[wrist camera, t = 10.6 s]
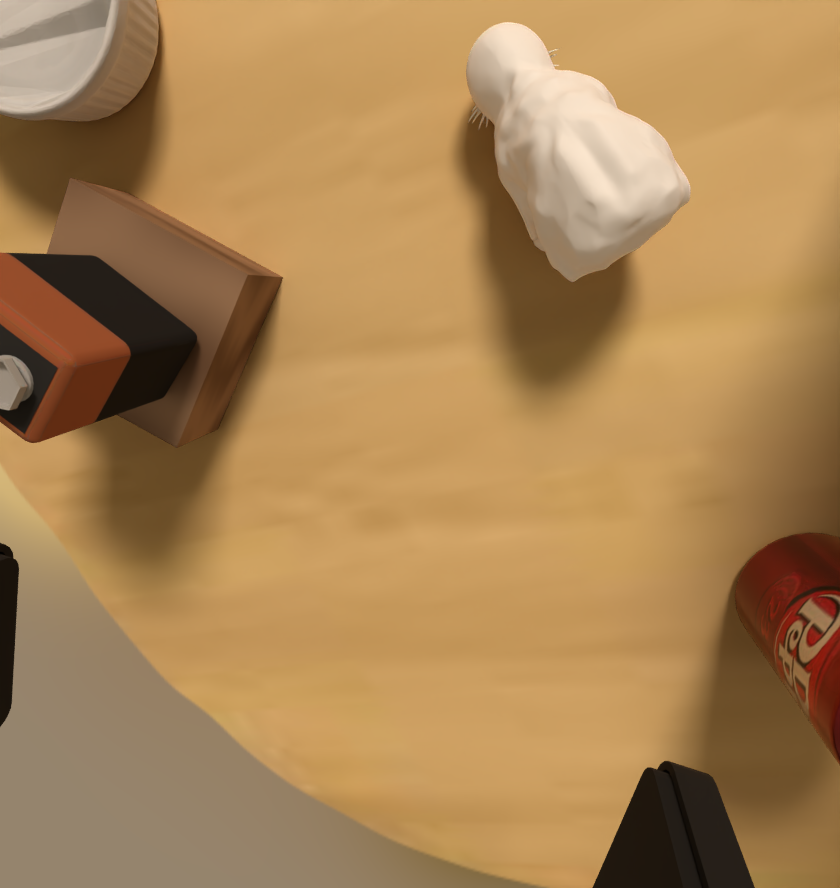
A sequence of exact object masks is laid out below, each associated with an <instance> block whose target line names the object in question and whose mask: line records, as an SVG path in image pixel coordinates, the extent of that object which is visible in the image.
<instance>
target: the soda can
mask: <svg viewBox="0 0 840 888" xmlns="http://www.w3.org/2000/svg"><path fill="white" fill-rule="evenodd" d="M735 601H736V609H737V612H738V615H739V618H740V620H741V622H742V624H743V625H744V627H745V629H746V630H747V632H748V633H749V635H750V636H751V637H752V639H753V640H754V642H755V643H756V645H757V646H758V648H759V649H760V650H761V652H762V653H763V655H764V656H765V658H766V659H767V661H768V662H769V664H770V665H771V666H772V668H773V669H774V671H775V672H776V674H777V675H778V677H779V678H780V679H781V681H782V682H783V684H784V685H785V687H786V688H787V690H788V691H789V693H790V694H791V695H792V697H793V698H794V700H795V701H796V703H797V704H798V706H799V707H800V708H801V710H802V711H803V713H804V714H805V716H806V717H807V719H808V720H809V722H810V723H811V724H812V726H813V727H814V729H815V730H816V732H817V733H818V735H819V736H820V737H821V739H822V740H823V742H824V743H825V745H826V746H827V748H828V749H829V751H830V752H831V753H832V755H833V756H834V758H835V759H836V761H837V762H838V764H839V765H840V538H839V537H836V536H831V535H827V534H820V533H804V534H795V535H791V536H788V537H784V538H781V539H778V540H776V541H774V542H772V543H770V544H768V545H767V546H765V547H764V548H762V549H761V550H760V551H758V552H757V553H756V554H755V555H754V556H753V557H752V558H751V559H750V560H749V561H748V562H747V564H746V566H745V567H744V569H743V570H742V572H741V574H740V577H739V579H738V582H737V586H736V593H735Z"/></svg>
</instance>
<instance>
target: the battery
mask: <svg viewBox="0 0 840 888" xmlns="http://www.w3.org/2000/svg"><path fill="white" fill-rule="evenodd" d="M196 342H197V335H196V333H195V332H194V331H193V330H192V329H191V328H189V327H188V326H187V325H186V324H184V323H183V322H182V321H180V320H179V319H178V318H177V317H175V316H174V315H173V314H171V313H170V312H169V311H168V310H166V309H165V308H164V307H162V306H161V305H160V304H158V303H157V302H156V301H155V300H153V299H152V298H151V297H149V296H148V295H147V294H146V293H144V292H143V291H142V290H140V289H139V288H138V287H136V286H135V285H134V284H133V283H131V282H130V281H129V280H127V279H126V278H125V277H124V276H122V275H121V274H120V273H118V272H117V271H116V270H114V269H113V268H112V267H111V266H109V265H108V264H107V263H105V262H104V261H103V260H101V259H100V258H98V257H96V256H93V255H66V254H27V253H0V422H1V423H2V424H4V425H5V426H6V427H8V428H9V429H10V430H12V431H13V432H14V433H16V434H17V435H18V436H20V437H21V438H22V439H24V440H25V441H27V442H30V443H37V442H41V441H44V440H46V439H49V438H52V437H55V436H58V435H61V434H63V433H66V432H69V431H72V430H75V429H77V428H80V427H83V426H86V425H89V424H91V423H94V422H97V421H100V420H103V419H106V418H108V417H111V416H114V415H117V414H120V413H122V412H125V411H128V410H131V409H134V408H137V407H139V406H142V405H145V404H148V403H151V402H153V401H156V400H159V399H161V398H163V397H164V396H165V395H166V393H167V392H168V390H169V388H170V387H171V385H172V383H173V382H174V380H175V378H176V376H177V375H178V373H179V371H180V370H181V368H182V366H183V365H184V363H185V361H186V360H187V358H188V356H189V354H190V353H191V351H192V349H193V348H194V346H195V344H196Z"/></svg>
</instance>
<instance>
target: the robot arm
mask: <svg viewBox="0 0 840 888" xmlns="http://www.w3.org/2000/svg"><path fill="white" fill-rule="evenodd" d="M18 575H19V567H18V563H17V561H16V560H15V559H13V552H12V551H11V549H10V547H8V546H6V545H4V544H1V543H0V726H1V725H2V724H3V722H4V721H5V719H6V718H7V716H8V714H9V711H10V709H11V704H12V685H13V666H14V649H15V630H16V612H17V594H18ZM593 888H755V887H754V885H753V882H752V879H751V877H750V874H749V871H748V868H747V866H746V863H745V860H744V858H743V855H742V852H741V850H740V847H739V844H738V842H737V839H736V836H735V834H734V831H733V828H732V825H731V823H730V820H729V817H728V815H727V812H726V809H725V807H724V804H723V801H722V799H721V796H720V793H719V791H718V788H717V785H716V783H715V781H714V779H713V778H712V777H711V776H710V775H709V774H706V773H703V772H700V771H697V770H694V769H691V768H688V767H685V766H682V765H679V764H676V763H672V762H669V761H664V762H663V763H662V764H660V766H659V767H658V769H657V770H656V769H653V768H647V769H645V770H644V772H643V774H642V776H641V778H640V781H639V783H638V785H637V787H636V790H635V792H634V794H633V797H632V799H631V801H630V803H629V806H628V808H627V810H626V813H625V815H624V817H623V819H622V822H621V824H620V826H619V829H618V831H617V833H616V835H615V838H614V840H613V842H612V845H611V847H610V849H609V851H608V854H607V856H606V858H605V861H604V863H603V865H602V867H601V870H600V872H599V874H598V877H597V879H596V881H595V883H594V886H593Z"/></svg>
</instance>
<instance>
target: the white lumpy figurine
mask: <svg viewBox="0 0 840 888" xmlns="http://www.w3.org/2000/svg"><path fill="white" fill-rule="evenodd" d="M559 49H560V48H559ZM556 50H558V49H555V50H552V51H549V52H548V51H547V49H546V47H545V45H544V44H543V42H542V41H541V39H540V38H539V37H538V36H537V35H536V34H535V33H534V32H533V31H532V30H530V29H529V28H528V27H526V26H524V25H521V24H518V23H510V22H506V23H500V24H497V25H494V26H492V27H490V28H489V29H487V30H486V31H485V32H483V33H482V34H481V35H480V37H479V38H478V39H477V40H476V42H475V44H474V45H473V47H472V49H471V51H470V54H469V57H468V62H467V69H466V77H467V84H468V88H469V91H470V94H471V96H472V99H473V100H474V102H475V104H476V105H475V107H474V108H473V110H474V109H476V110H475V111H474V112H473V114H472V115H471V117H470V119H469V121H470V120H471V119H472V117H473V116H474V115H475V113H476V112H477V111H478V113H477V114H476V116H475V118H474V120H473V122H474V121H475V119H476V118H477V117H478V115H479V114H480V113H483V115H482V119H481V121H480V125H479V128H480V126H481V124H482V122H483V121H484V118H485V117H486V116H487V119H486V120H487V121H486V128H487V125H488V120H489V119H490V120H491V122H492V123H493V124H494V126H495V131H494V141H495V158H496V162H497V166H498V176H499V178H500V181H501V183H502V185H503V186H504V188H505V189H506V190H507V192H508V193H509V195H510V196H511V198H512V199H513V201H514V203H515V204H516V206H517V208H518V210H519V212H520V214H521V216H522V219H523V221H524V223H525V226H526V228H527V231H528V233H529V236H530V238H531V239H532V240H533V242H534V245H535V246H536V247H537V248H539V249H540V250H542V251H545V252H546V255H547V258H548V260H549V262H550V264H551V266H552V267H553V268H554V269H556V270H558V271H559V272H560V273H561V274H562V275H563V276H564V277H565V278H566V279H568V280H569V281H571V282H574V281H576V280H578V279H579V278H580V277H582V276H585V275H587V274H589V273H593V272H596V271H600V270H604V269H606V268H608V267H609V266H610V265H611V264H612V263H613V262H615V261H616V260H618V259H620V258H621V257H623V256H624V255H626V254H628V253H631V252H633V251H635V250H636V249H638V248H639V247H641V246H642V245H643V244H644V243H645V242H646V241H647V240H648V239H649V238H650V237H652V236H653V235H654V234H655V233H656V232H658V231H659V230H661V229H662V228H663V227H665V226H666V225H667V224H668V223H669V222H670V220H671V218H672V216H673V215H674V214H675V213H676V211H677V210H678V209H679V208H681V207H682V206H684V205H685V204H686V203H687V202H688V201H689V199H690V184H689V182H688V180H687V178H686V176H685V174H684V173H683V171H682V170H681V168H680V167H679V165H678V164H677V162H676V161H675V159H674V157H673V154H672V151H671V149H670V147H669V145H668V143H667V141H666V140H665V139H664V138H663V136H661V135H660V134H659V133H658V132H657V131H656V130H655V129H654V128H653V127H652V126H651V125H649V124H647V123H646V122H643V121H642V120H640V119H639V118H637V117H635V116H632V115H630V114H627V113H625V112H623V111H621V110H619V109H617V106H616V103H615V100H614V98H613V96H612V95H611V93H610V92H609V91H608V90H607V88H606V87H605V86H604V85H603V84H602V83H601V82H600V81H598V80H596V79H595V78H593V77H591V76H588V75H584V74H581V73H578V72H574V71H568V70H564V71H561V70H556V69H555V68H554V67H555V66H559V65H553V63H552V61H551V57H553V56H555V55H557V54H555V55H551V56H549V54H550V53H552V52H553V51H556ZM473 110H472V111H473ZM469 121H468V122H469ZM473 122H472V123H473ZM478 130H479V129H478Z"/></svg>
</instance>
